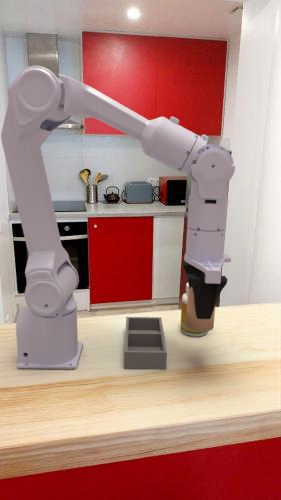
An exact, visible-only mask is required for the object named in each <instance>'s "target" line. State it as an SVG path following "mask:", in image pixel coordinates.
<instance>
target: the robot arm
mask: <svg viewBox="0 0 281 500" xmlns="http://www.w3.org/2000/svg"><path fill="white" fill-rule="evenodd" d="M58 76H59V78H58V77H57V75H56V74H55V73H54V72H52V71H51V70H50V69H48V68H46V67H45V66H41V65H32V66H31V65H30V66H27V67H25V68H24V69H23V70H21V71H20V72H19V74H17V76H16V77H15V79H13V81H12V82H11V83H10V84H9V86H8V87H7V91H6V93H7V99H8V104H7V107H6V111H5V116H4V119H3V125H2V129H1V133H0V139H1V145H2V149H3V153H4V156H5V157H4V158H5V161H6V165H7V166H6V167H7V169H8V170H7V171H8V174H9V177H10V182H11V187H12V191H13V195H14V198H15V202H16V207H17V211H18V215H19V220H20V223H21V228H22V232H23V236H24V240H25V245H26V248H27V252H28V257H27V262H26V267H25V271H24V274H25V275H24V276H25V278H26V279H25V280H26V286H25V290H24V301H25V303H26V306H21V307H20V309H19V311H18V314H17V317H16V324H15V331H16V333H15V334H16V346H17V347H16V348H17V349H16V350H17V358H18V359H17V362H18V363H17V364H16V367H17V368H18V369H55V370H56V369H60V370H61V369H67V370H68V369H69V370H70V369H71V370H73V369H74V370H75V369H77V367H78V365H79V364H78V363H79V362H80V361H79V360H80V357H81V354H82V349H83V345H84V342H82V341H78V310H77V309H78V308H77V307H78V306H77V305H78V304H77V301H76V299H75V297H74V292H75V291H76V289H77V288H78V286H79V282H80V279H79V278H80V277H79V274H78V273H79V272H78V271H77V270H76V268H75V267H74V266H73V264H72V262H71V260H70V255H69V253H68V251H67V250H66V249H65V248H64V247H63V245H62V242H61V241H62V240H61V237H60V236H61V235H60V232H59V227H58V221H57V217H56V211H55V208H54V203H53V199H52V194H51V189H50V184H49V180H48V176H47V171H46V167H45V162H44V157H43V153H42V149H41V148H42V145H43V144H44V143H45V141H46V140H47V139H48V137H50V135H51V133H52V132H53V131H54V130H56V129H57V128H59V127H60V126H62V125H63V124H65V123H67V121H69V120H70V119H71V118H74V119H76V120H77V119H78V120H81V119H87V118H88V119H90V118H93V119H94V120H95V119H96V120H97V121H100V122H101V123H104V124H106V125H107V126H110V127H112V128H114V129H116V130H117V131H120V132H121V133H124V134H126V135H128V136H129V137H132V138H134V139H136V140H138V141H139V142H140V145H141V148H142V149H141V150H142V152H143V153H144V155H146V156H148V157H150V158H151V159H153V160H155V161H156V162H157V161H158V162H159V163H161V164H163V165H165V166H166V167H168V168H170V169H172V170H174V171H176V172H179V173H180V174H185V173H188V174H189V176H190V178H191V181H190V182H191V183H190V194H189V196H188V205H187V206H188V208H187V209H188V210H187V222H186V223H187V226H186V227H187V228H186V241H185V243H186V244H185V254H184V255H183V257H184V258H183V260H184V261H183V262H182V267H183V268H184V271H185V275H186V279H187V283H189V289H190V288H191V287H192V289H193V294H194V304H195V313H196V317H197V319H210V318H211V316H212V313H213V310H214V307H215V308H216V305H217V301H218V298H219V296H220V294H221V293H222V291H223V290H224V288H225V286H227V284H228V278H227V277H226V275H222V269H223V266H224V264H225V263H230V262H232V256H230V255H229V254H224V253H225V242H226V241H225V240H226V230H227V229H226V228H227V217H228V216H227V215H228V206H229V197H228V192H229V182H230V181H231V179H232V178H233V177H234V173H235V171H236V165H235V164H234V159H233V156H232V155H231V153H230V151H229V150H228V149H227V148H225V147H224V146H223V145H222V146H221V145H219V144H209V143H208V141H209V139H210V137H209V136H207V135H205V134H201V135H198V134H196V133H194V131H191V130H189V129H187V128H185V127H183V126H182V125H180V124H179V123H180V120H179V119H178V118H177V117H175V116H170V118H169V119H168V118H167V117H165V116H160V117H157V118H154V119H147V118H146V117H144V116H143V115H140V114H138V113H137V112H136V111H134V110H131V109H130V108H129V107H127V106H125V105H123V104H121V102H118V101H116V100H114V99H113V98H111V97H109V96H107V95H106V94H104V93H103V92H101V91H99V90H97V89H95V88H94V87H92V86H90V85H88V84H85V83H83V82H80V81H79V80H76V79H74V78H72V77H69V76H68V75H64V74H61V73H58Z"/></svg>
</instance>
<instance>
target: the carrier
mask: <svg viewBox="0 0 281 500" xmlns="http://www.w3.org/2000/svg"><path fill="white" fill-rule="evenodd" d="M124 331H125V332H124V333H125V336H124V351H123V353H124V354H123V359H124V360H123V361H124V363H123V368H124V370H167V359H168V351H167V350H168V349H167V345H166V344H167V343H166V338H165V332H164V326H163V319H162V317H159V316H157V317H156V316H152V317H151V316H150V317H149V316H126V318H125V330H124Z"/></svg>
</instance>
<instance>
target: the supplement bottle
mask: <svg viewBox="0 0 281 500" xmlns="http://www.w3.org/2000/svg"><path fill="white" fill-rule="evenodd" d="M188 292H189V283H188V282H187V283H186V284H185V293H183V294H182V297H181V312H180V326H179V327H180V331H181V333H182V334H185V335H186V336H189V337H196V338H197V337H203V336H205V335H206V334H208V332H209V331H206V332H199V331H194V330H191V329H189V328H188V327H187V326H186V317H187V299H188Z"/></svg>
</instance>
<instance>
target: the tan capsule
mask: <svg viewBox="0 0 281 500" xmlns="http://www.w3.org/2000/svg"><path fill="white" fill-rule="evenodd" d="M215 311H216V306H215V307H214V310H213V313H212V316H211V318H210V319H197V317H196V313H195V304H194V294H193V289H192V287H191V288H190V289H189V292H188V299H187V317H186V326H187V327H188V328H189V329H191V330H194V331H199V332H206V331H208V332H210V331H212V330H213V329H214V327H215V326H214V325H215V315H216V314H215V313H216V312H215Z"/></svg>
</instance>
